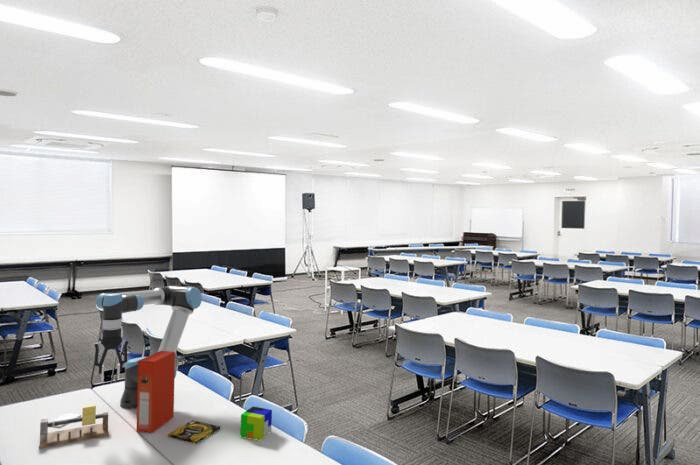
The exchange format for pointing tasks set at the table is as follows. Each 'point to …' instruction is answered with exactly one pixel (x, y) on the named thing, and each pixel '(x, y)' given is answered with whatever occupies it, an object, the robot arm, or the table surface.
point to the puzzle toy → (256, 423)
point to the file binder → (155, 391)
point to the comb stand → (71, 431)
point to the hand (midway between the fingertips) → (110, 379)
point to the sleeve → (88, 415)
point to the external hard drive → (64, 417)
